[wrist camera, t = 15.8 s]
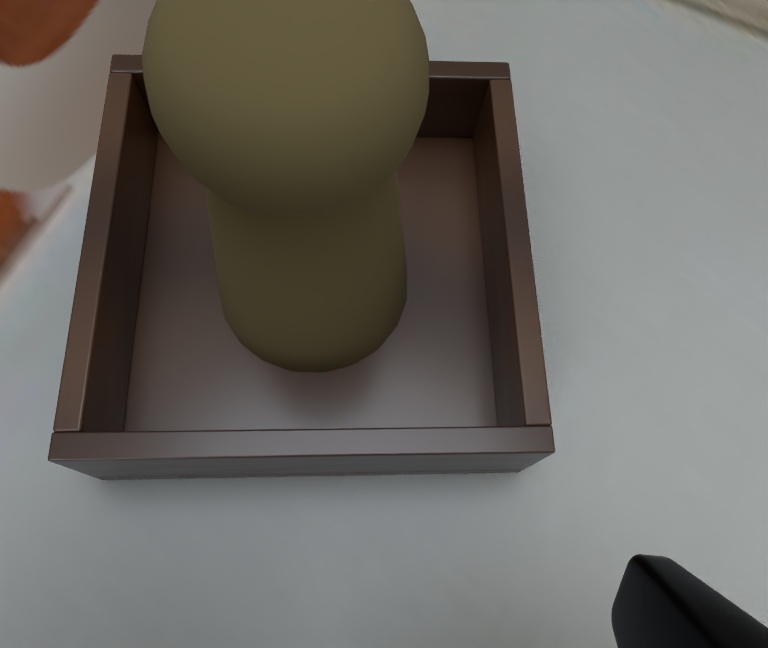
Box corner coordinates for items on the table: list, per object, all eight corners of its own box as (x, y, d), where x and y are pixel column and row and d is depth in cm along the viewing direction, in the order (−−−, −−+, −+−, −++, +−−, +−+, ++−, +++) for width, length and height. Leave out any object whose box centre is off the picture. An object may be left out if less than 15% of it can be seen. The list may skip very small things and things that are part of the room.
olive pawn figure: (390, 389, 20) (437, 192, 9) (195, 353, 20) (29, 117, 9) (421, 219, 22) (488, -95, 11) (246, 186, 22) (155, -154, 12)
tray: (519, 472, 19) (555, 452, 16) (100, 480, 19) (46, 460, 15) (486, 132, 24) (509, 61, 20) (145, 127, 23) (111, 53, 20)
